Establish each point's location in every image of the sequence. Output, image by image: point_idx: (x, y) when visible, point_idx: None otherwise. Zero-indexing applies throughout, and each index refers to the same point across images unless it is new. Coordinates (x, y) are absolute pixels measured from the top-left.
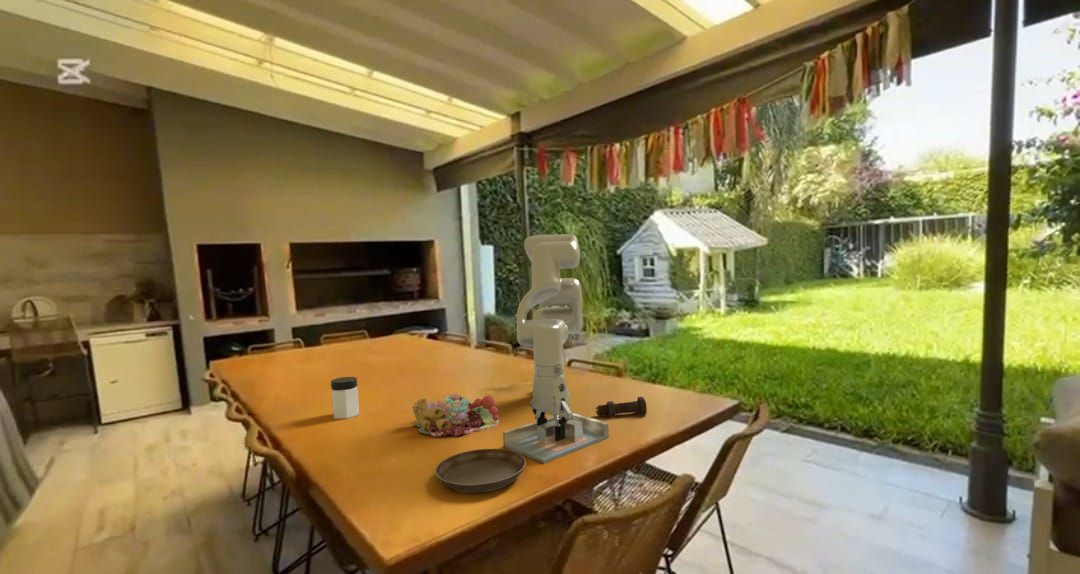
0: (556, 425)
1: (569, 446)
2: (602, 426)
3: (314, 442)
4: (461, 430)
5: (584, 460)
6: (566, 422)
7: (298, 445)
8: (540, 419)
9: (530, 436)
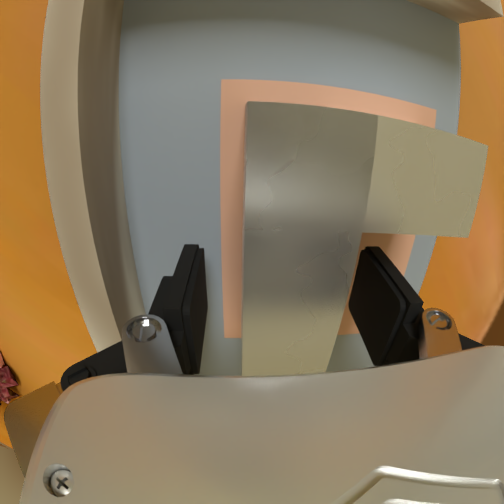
0: (340, 310)
1: (409, 256)
2: (477, 9)
3: (4, 439)
4: (1, 377)
5: (476, 280)
6: (451, 320)
7: (11, 446)
8: (188, 369)
9: (140, 295)
